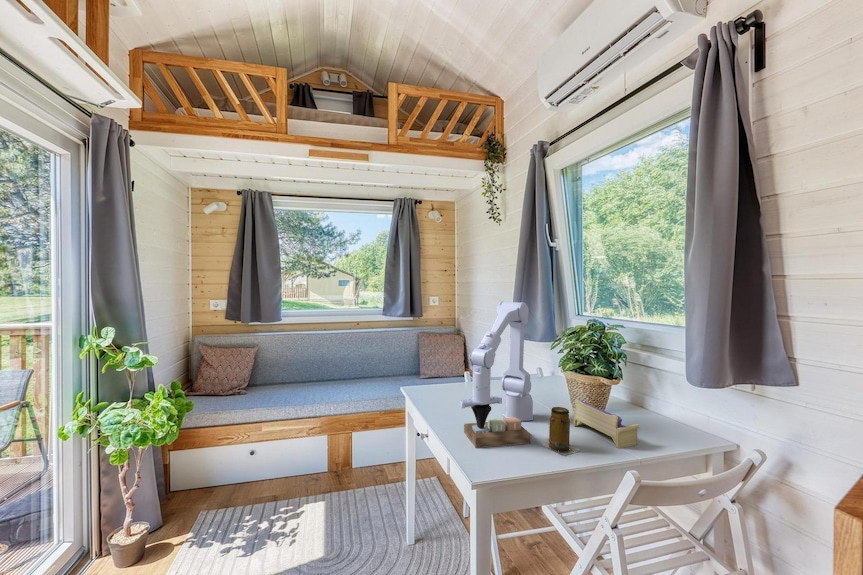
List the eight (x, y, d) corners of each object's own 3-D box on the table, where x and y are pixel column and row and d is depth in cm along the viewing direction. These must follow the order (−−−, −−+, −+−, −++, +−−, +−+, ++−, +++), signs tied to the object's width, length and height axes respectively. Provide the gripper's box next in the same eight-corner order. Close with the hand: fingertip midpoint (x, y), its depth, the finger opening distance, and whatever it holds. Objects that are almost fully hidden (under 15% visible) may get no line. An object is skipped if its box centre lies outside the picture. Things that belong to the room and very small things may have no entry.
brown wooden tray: (514, 428, 139) (514, 420, 139) (530, 443, 127) (530, 433, 127) (463, 432, 135) (464, 423, 135) (475, 447, 123) (475, 438, 123)
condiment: (558, 440, 129) (559, 404, 129) (580, 450, 122) (581, 412, 122) (542, 445, 125) (543, 408, 125) (564, 456, 118) (565, 416, 118)
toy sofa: (639, 445, 127) (640, 414, 126) (619, 450, 123) (620, 417, 123) (590, 422, 146) (591, 395, 146) (571, 425, 143) (572, 397, 142)
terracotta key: (515, 427, 135) (515, 417, 134) (521, 432, 130) (521, 422, 130) (503, 428, 134) (503, 418, 133) (508, 433, 129) (508, 423, 129)
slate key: (484, 434, 132) (484, 424, 132) (489, 440, 128) (489, 429, 128) (471, 435, 131) (471, 425, 131) (476, 441, 127) (476, 430, 127)
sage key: (500, 428, 133) (500, 418, 133) (505, 433, 129) (505, 423, 129) (487, 429, 132) (487, 419, 132) (492, 434, 128) (492, 424, 128)
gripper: (494, 380, 135) (493, 420, 136) (455, 384, 130) (455, 425, 131) (505, 386, 129) (504, 427, 129) (465, 390, 124) (464, 433, 124)
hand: (480, 427), depth 130 cm, fingers closed
